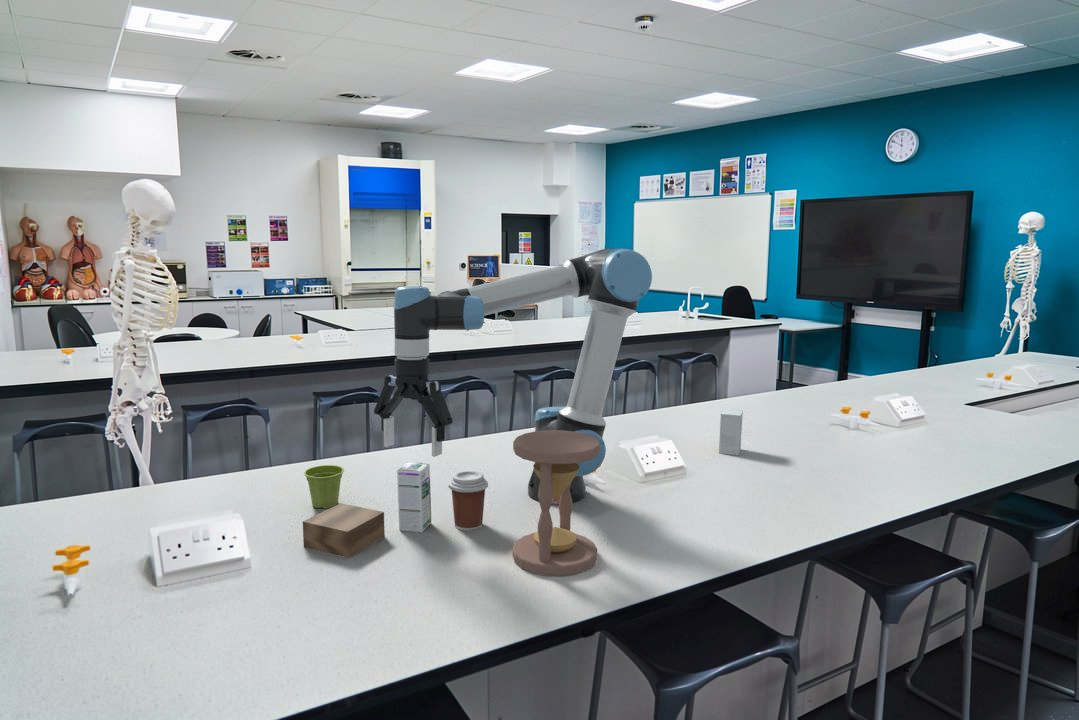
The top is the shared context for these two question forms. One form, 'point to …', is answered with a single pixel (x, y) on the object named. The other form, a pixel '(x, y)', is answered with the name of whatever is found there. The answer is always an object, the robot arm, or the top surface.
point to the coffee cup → (468, 499)
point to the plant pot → (324, 485)
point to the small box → (730, 431)
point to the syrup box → (414, 497)
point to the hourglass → (556, 470)
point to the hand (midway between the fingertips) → (412, 450)
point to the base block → (343, 530)
